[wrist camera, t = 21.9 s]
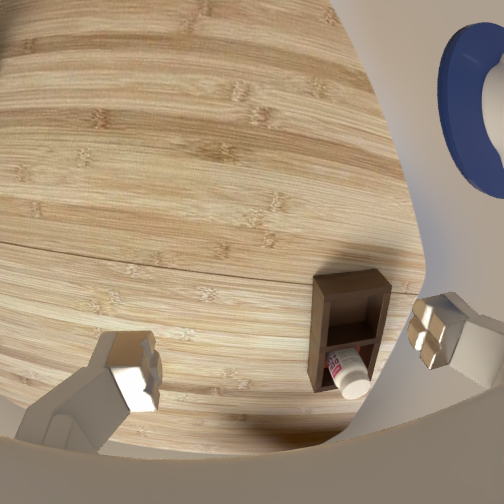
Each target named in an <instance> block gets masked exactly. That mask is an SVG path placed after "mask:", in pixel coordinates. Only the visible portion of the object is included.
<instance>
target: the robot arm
mask: <svg viewBox="0 0 504 504" xmlns="http://www.w3.org/2000/svg"><path fill="white" fill-rule="evenodd" d="M482 114H483V120H484V124H485V128H486V131H487V134H488V136H489V139H490V141H491V143H492V144H493V146H494V147H495V149H496V150H497V151H498V153H499V155H500V158H501V161H502V165H503V168H504V53H503V54H502V56H501V59H500V62H499V63H498V64H497V65H495V66H494V67H493V68H492V69H491V70H490V71H489V72H488V74H487V76H486V78H485V81H484V84H483V90H482ZM412 312H413V314H414V317H413V318H412V319H411V320H410V322H409V325H408V330H407V331H408V339H409V342H410V344H411V345H412V347H413V348H414V349H416V350H418V351H420V352H421V353H420V358H421V359H422V361H423V362H424V364H425V365H426V366H427V368H428V369H429V370H431V369H435V368H438V367H442V366H445V365H448V364H449V366H451V367H452V368H454V369H456V370H457V371H459V372H460V373H462V374H464V375H465V376H467V377H469V378H470V379H472V380H473V381H475V382H477V383H478V384H480V385H481V386H483V387H485V388H486V389H488V390H486V391H484V392H482V393H480V394H477V395H475V396H473V397H471V398H469V399H466V400H464V401H462V402H459V403H457V404H455V405H453V406H450V407H448V408H445V409H442V410H440V411H437V412H435V413H432V414H429V415H426V416H424V417H421V418H418V419H415V420H413V421H410V422H406V423H404V424H401V425H397V426H394V427H391V428H388V429H384V430H380V431H377V432H373V433H370V434H366V435H363V436H358V437H354V438H350V439H346V440H342V441H337V442H333V443H328V444H323V445H318V446H313V447H307V448H301V449H295V450H289V451H282V452H275V453H267V454H259V455H249V456H239V457H225V458H206V459H150V458H149V459H148V458H131V457H117V456H107V455H99V454H98V452H97V451H98V450H99V449H100V447H102V446H103V444H104V443H105V442H106V441H107V440H108V439H109V437H110V436H111V435H112V434H113V433H114V432H115V430H116V429H117V428H118V427H119V426H120V425H121V423H122V422H123V421H124V420H125V419H126V417H127V416H128V415H129V414H130V412H155V411H158V404H159V397H160V393H159V391H158V388H157V387H158V386H159V385H160V384H161V383H162V363H161V358H160V355H159V353H158V352H157V351H156V350H155V349H154V348H155V343H156V341H155V338H154V334H153V332H152V331H105V332H103V333H102V334H101V335H100V338H99V340H98V342H97V345H96V347H95V349H94V352H93V354H92V356H91V359H90V361H89V364H88V366H87V367H82V368H81V369H79V370H78V371H77V372H75V373H74V374H73V375H71V376H70V377H69V378H67V379H66V380H64V381H63V382H62V383H60V384H59V385H58V386H56V387H55V388H54V389H52V390H51V391H50V392H48V393H47V394H46V395H44V396H43V397H42V398H40V399H39V400H38V401H36V402H35V403H34V404H32V405H31V406H30V407H28V408H27V410H26V413H25V415H24V417H23V419H22V422H21V424H20V426H19V429H18V431H17V434H16V436H15V438H14V439H12V438H9V437H5V436H1V435H0V504H504V323H503V322H501V321H498V320H496V319H493V318H490V317H487V316H485V315H479V314H478V313H477V312H476V311H474V310H473V309H472V308H471V307H470V306H469V305H468V304H467V303H466V302H465V301H464V300H463V299H461V298H460V297H459V296H458V295H457V294H456V293H454V292H448V293H444V294H440V295H437V296H432V297H427V298H422V299H417V300H416V301H415V303H414V305H413V309H412Z"/></svg>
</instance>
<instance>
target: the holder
mask: <svg viewBox="0 0 504 504" xmlns="http://www.w3.org/2000/svg"><path fill="white" fill-rule="evenodd" d="M391 289H392V285H391V284H390V283H389V282H388V281H387V280H386V279H385V277H384V276H383V275H382V274H381V273H380V272H379V271H378V270H377V269H373V270H364V271H356V272H348V273H339V274H330V275H321V276H313V291H312V310H311V327H310V343H309V356H308V369H307V373H308V376H309V379H310V382H311V385H312V388H313V391H314V393H317V392H322V391H328V390H333V389H338V387H337V386H336V385H335V383H334V380H333V378H332V375H331V373H330V370H329V368H328V365H327V363H326V360H325V355H326V352H331V351H337V350H343V349H349V348H354V347H356V349H357V351H358V353H359V355H360V357H361V359H362V361H363V363H364V364H365V366H366V368H367V372H368V374H367V376H368V378H369V380H370V381H371V378H372V375H373V371H374V367H375V363H376V359H377V355H378V351H379V347H380V342H381V339H382V334H383V330H384V325H385V320H386V315H387V310H388V305H389V300H390V295H391Z"/></svg>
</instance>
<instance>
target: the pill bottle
mask: <svg viewBox="0 0 504 504" xmlns="http://www.w3.org/2000/svg"><path fill="white" fill-rule="evenodd" d="M325 360H326V363H327V365H328V368H329V370H330V373H331V375H332V378H333V380H334V383H335V385H336V386H337V387H338V388H339V389H340V391H341V393H342V395H343V397H344V398H346V399H356V398H359V397H361V396H363V395H364V394H365V393H367V392H368V390H369V389H370V387H371V383H370V380H369V378H368V376H367V374H368V372H367V368H366V366H365V364H364V363H363V361H362V359H361V357H360V355H359V353H358V351H357V349H356V347H354V348H349V349H343V350H337V351H331V352H326V355H325Z"/></svg>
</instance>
